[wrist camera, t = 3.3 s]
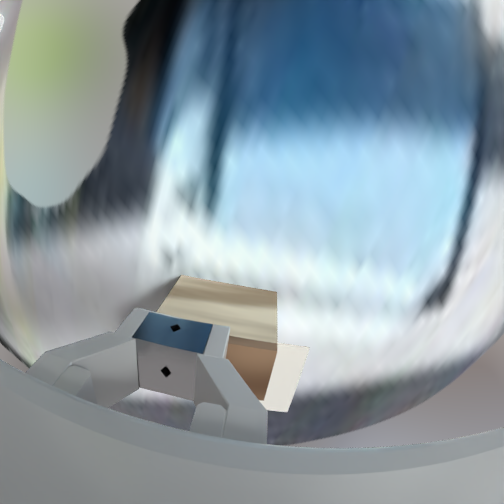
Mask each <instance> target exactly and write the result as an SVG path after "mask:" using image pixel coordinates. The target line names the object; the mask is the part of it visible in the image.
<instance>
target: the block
mask: <svg viewBox="0 0 504 504" xmlns="http://www.w3.org/2000/svg"><path fill="white" fill-rule="evenodd" d="M157 312H158V313H162V314H166V315H170V316H174V317H179V318H182V319H186V320H192V321H197V322H203V323H209V324H213V325H214V324H215V325H222V326H229V327H230V335H229V341H228V347H227V354H226V359H228V360H229V361H230V362H231V364H232V365H233V367H234V368H235V369H236V371H237V372H238V373H239V375H240V376H241V377H242V379H243V380H244V381H245V383H246V384H247V385H248V387H249V388H250V389H251V391H252V392H253V393H254V395H255V396H256V397H257V399H258V400H262V401H264V398H265V395H266V391H267V388H268V384H269V381H270V377H271V373H272V370H273V366H274V362H275V359H276V355H277V292H274V291H268V290H262V289H256V288H250V287H244V286H239V285H233V284H227V283H222V282H216V281H211V280H205V279H200V278H195V277H189V276H184V275H181V276H180V278H179V279H178V281H177V282H176V284H175V285H174V287H173V288H172V290H171V291H170V293H169V294H168V296H167V297H166V299H165V300H164V301H163V303H162V304H161V306H160V307H159V309H158V310H157Z"/></svg>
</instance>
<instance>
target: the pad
mask: <svg viewBox="0 0 504 504" xmlns="http://www.w3.org/2000/svg"><path fill="white" fill-rule="evenodd" d="M308 352H309V347H305V346H297V345H290V344H283V343H277V355H276V359H275V362H274V366H273V370H272V373H271V377H270V381H269V384H268V388H267V391H266V395H265V398H264V401H262V400H259V401H260V402H261V404H262V405H263V406H264V408H265V409H266V410H271V411H280V412H288V409H289V406H290V404H291V401H292V398H293V395H294V393H295V390H296V387H297V384H298V382H299V379H300V376H301V373H302V370H303V367H304V364H305V361H306V358H307V355H308Z"/></svg>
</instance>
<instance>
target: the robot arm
mask: <svg viewBox="0 0 504 504" xmlns="http://www.w3.org/2000/svg"><path fill="white" fill-rule="evenodd" d="M229 335H230V327H229V326H222V325H215V324H214V325H213V324H209V323H203V322H197V321H192V320H186V319H182V318H179V317H174V316H170V315H166V314H162V313H158V312H154V311H150V310H146V309H141V308H134V309H133V310H132V312H131V313H130V314H129V315H128V317H127V318H126V319H125V320H124V321H123V323H122V324H121V325H120V326H119V328H118V329H117V330H116V331H115V332H114V333H113V332H107V333H104V334H101V335H98V336H95V337H92V338H89V339H85V340H82V341H79V342H76V343H72V344H69V345H66V346H63V347H59V348H56V349H53V350H50V351H46V352H45V353H44V354H43V355H42V356H41V357H40V358H39V359H38V360H37V361H36V362H35V363H34V364H33V365H32V366H31V367H30V368H29V369H28V371H26V373H25V372H23V371H21V370H19V369H17V368H15V367H13V366H11V365H10V364H8V363H6V362H4V361H2V360H1V359H0V504H504V427H502V428H499V429H495V430H491V431H487V432H483V433H479V434H474V435H469V436H464V437H459V438H454V439H448V440H442V441H435V442H429V443H420V444H412V445H402V446H389V447H372V448H309V447H292V446H279V445H269V444H267V417H268V411H267V410H266V409H265V408H264V406H263V405H262V404H261V402H260V401H259V400H258V399H257V397H256V396H255V395H254V393H253V392H252V391H251V389H250V388H249V387H248V385H247V384H246V383H245V381H244V380H243V379H242V377H241V376H240V375H239V373H238V372H237V371H236V369H235V368H234V367H233V365H232V364H231V362H230V361H229V360H228V359H226V354H227V347H228V341H229ZM139 387H140V388H144V389H148V390H152V391H156V392H160V393H165V394H169V395H172V396H176V397H180V398H184V399H188V400H192V401H194V404H195V406H196V411H195V414H194V417H193V420H192V424H191V427H190V430H189V431H185V430H181V429H177V428H173V427H169V426H165V425H161V424H157V423H154V422H150V421H146V420H143V419H139V418H136V417H133V416H130V415H126V414H123V413H120V412H117V411H114V410H111V409H108V408H109V407H110V406H112V405H113V404H115V403H117V402H118V401H120V400H122V399H123V398H125V397H127V396H128V395H130V394H131V393H133V392H135V391H136V390H138V389H139Z"/></svg>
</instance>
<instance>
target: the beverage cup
mask: <svg viewBox="0 0 504 504" xmlns="http://www.w3.org/2000/svg"><path fill="white" fill-rule="evenodd" d="M3 23H4V17H3V15H2V14H0V31H1V29H2V26H3Z"/></svg>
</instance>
